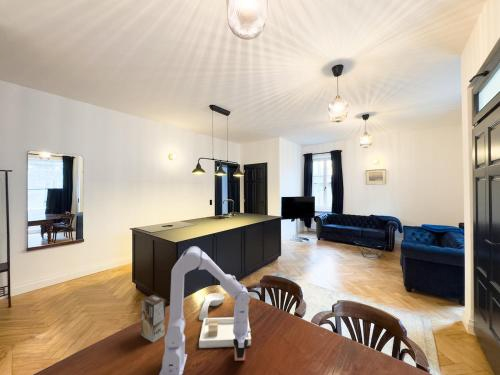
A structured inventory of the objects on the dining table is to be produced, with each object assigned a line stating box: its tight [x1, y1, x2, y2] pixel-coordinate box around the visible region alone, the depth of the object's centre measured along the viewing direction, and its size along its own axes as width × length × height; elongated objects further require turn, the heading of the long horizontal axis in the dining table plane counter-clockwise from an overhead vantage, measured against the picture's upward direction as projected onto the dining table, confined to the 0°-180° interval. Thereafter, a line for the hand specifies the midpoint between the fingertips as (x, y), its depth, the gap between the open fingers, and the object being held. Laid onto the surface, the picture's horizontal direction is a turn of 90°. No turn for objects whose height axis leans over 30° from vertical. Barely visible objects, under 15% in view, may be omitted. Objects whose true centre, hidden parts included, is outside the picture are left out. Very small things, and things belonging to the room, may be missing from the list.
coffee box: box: [140, 294, 166, 343], centre depth 97 cm, size 9×6×16 cm
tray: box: [198, 316, 252, 349], centre depth 99 cm, size 16×22×3 cm
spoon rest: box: [198, 292, 225, 321], centre depth 120 cm, size 24×12×7 cm, turn 172°
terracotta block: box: [234, 347, 246, 362], centre depth 86 cm, size 4×4×5 cm
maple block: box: [208, 320, 218, 337], centre depth 99 cm, size 4×4×5 cm
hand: (239, 352), depth 86 cm, fingers closed on terracotta block, 4 cm apart
